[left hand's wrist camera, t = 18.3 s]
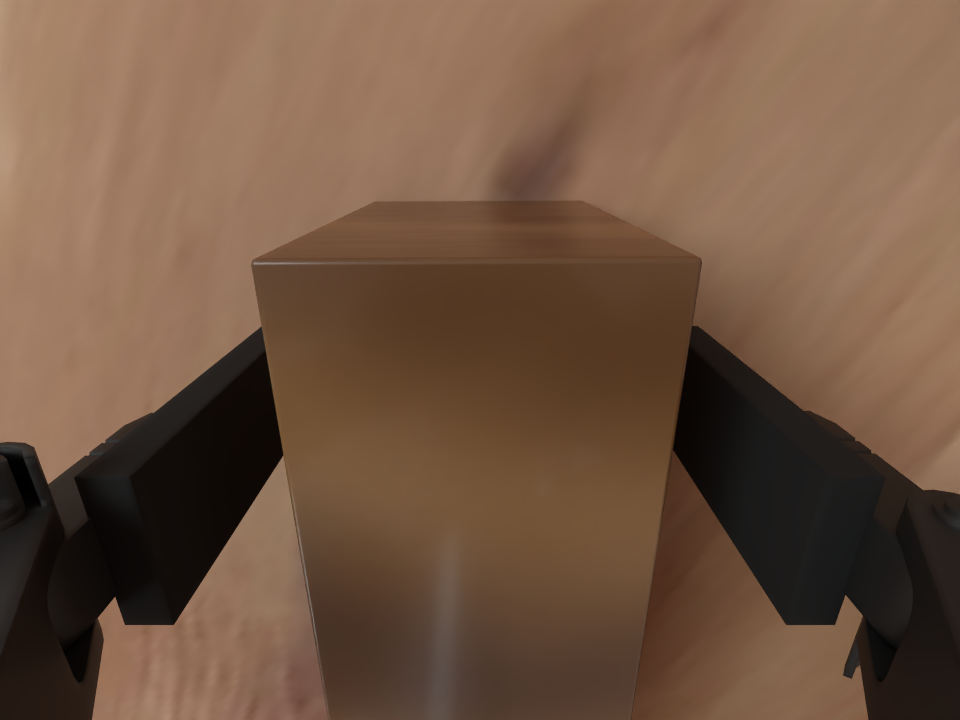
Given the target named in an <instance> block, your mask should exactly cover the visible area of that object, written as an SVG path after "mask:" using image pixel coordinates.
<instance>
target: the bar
mask: <svg viewBox="0 0 960 720" xmlns="http://www.w3.org/2000/svg"><path fill="white" fill-rule="evenodd" d="M701 265H702V261H701V258H699V257H697V256H695V255H693V254H691V253H689V252H687V251H685V250H683V249H681V248H679V247H677V246H674V245H672V244H670V243H668V242H666V241H664V240H662V239H660V238H658V237H656V236H654V235H652V234H650V233H647V232H645V231H643V230H641V229H639V228H637V227H635V226H633V225H631V224H629V223H627V222H625V221H623V220H620V219H618V218H616V217H614V216H612V215H610V214H608V213H606V212H604V211H602V210H600V209H598V208H596V207H593V206H591V205H589V204H587V203H585V202H583V201H453V202H373V203H371V204H369V205H367V206H365V207H363V208H361V209H359V210H357V211H354V212H352V213H350V214H348V215H346V216H344V217H342V218H340V219H338V220H336V221H333V222H331V223H329V224H327V225H325V226H323V227H321V228H319V229H317V230H315V231H312V232H310V233H308V234H306V235H304V236H302V237H300V238H298V239H296V240H294V241H291V242H289V243H287V244H285V245H283V246H281V247H279V248H277V249H275V250H273V251H270V252H268V253H266V254H264V255H262V256H260V257H258V258H256V259H254V260H252V264H251V266H252V272H253V278H254V284H255V289H256V295H257V301H258V307H259V313H260V319H261V325H262V331H263V337H264V343H265V348H266V354H267V360H268V366H269V372H270V378H271V384H272V390H273V396H274V402H275V408H276V413H277V419H278V425H279V431H280V437H281V443H282V449H283V455H284V461H285V467H286V472H287V478H288V484H289V490H290V496H291V502H292V508H293V514H294V520H295V526H296V532H297V537H298V543H299V549H300V555H301V561H302V567H303V573H304V579H305V585H306V591H307V597H308V602H309V608H310V614H311V620H312V626H313V632H314V638H315V644H316V650H317V656H318V661H319V667H320V673H321V679H322V685H323V691H324V697H325V703H326V709H327V715H328V720H631V715H632V708H633V702H634V695H635V689H636V683H637V676H638V670H639V663H640V657H641V650H642V644H643V638H644V631H645V625H646V618H647V612H648V605H649V599H650V593H651V586H652V580H653V573H654V567H655V560H656V554H657V548H658V541H659V535H660V528H661V522H662V515H663V509H664V503H665V496H666V490H667V483H668V477H669V470H670V464H671V458H672V451H673V445H674V438H675V432H676V425H677V419H678V413H679V406H680V400H681V393H682V387H683V380H684V374H685V368H686V361H687V355H688V348H689V342H690V335H691V329H692V323H693V316H694V310H695V303H696V297H697V290H698V284H699V278H700V271H701Z"/></svg>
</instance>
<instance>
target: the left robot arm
mask: <svg viewBox="0 0 960 720" xmlns="http://www.w3.org/2000/svg"><path fill="white" fill-rule="evenodd" d="M673 450H674V452H675V454H676V455H677V457H678V458H679V460H680V461H681V463H682V464H683V466H684V467H685V469H686V471H687V472H688V474H689V475H690V477H691V478H692V480H693V481H694V483H695V484H696V486H697V488H698V489H699V491H700V492H701V494H702V495H703V497H704V498H705V500H706V501H707V503H708V505H709V506H710V508H711V509H712V511H713V512H714V514H715V515H716V517H717V518H718V520H719V522H720V523H721V525H722V526H723V528H724V529H725V531H726V532H727V534H728V536H729V537H730V539H731V540H732V542H733V543H734V545H735V546H736V548H737V549H738V551H739V553H740V554H741V556H742V557H743V559H744V560H745V562H746V563H747V565H748V566H749V568H750V570H751V571H752V573H753V574H754V576H755V577H756V579H757V580H758V582H759V583H760V585H761V587H762V588H763V590H764V591H765V593H766V594H767V596H768V597H769V599H770V600H771V602H772V604H773V605H774V607H775V608H776V610H777V611H778V613H779V614H780V616H781V618H782V619H783V621H784V622H785V624H786V625H835V623H836V620H837V617H838V614H839V612H840V609H841V606H842V603H843V600H844V597H845V594H846V596H847V597H848V598H849V599H850V600H851V602H852V603H853V604H854V605H855V606H856V608H857V609H858V610H859V611H860V613H861V614H862V615H863V618H862V621H861V623H860V626H859V629H858V631H857V634H856V637H855V639H854V642H853V645H852V647H851V650H850V653H849V655H848V658H847V661H846V664H845V668H844V673H843V676H846V677H848V678H851V679H852V677H853V674H854V671H855V669H856V667H858V666H861V673H862V680H863V686H864V693H865V700H866V706H867V713H868V719H869V720H960V495H959V494H956V493H951V492H944V491H938V490H922V489H921V488H919V487H918V486H917V485H915V484H914V483H913V482H912V481H910V480H909V479H908V478H906V477H905V476H904V475H902V474H901V473H900V472H898V471H897V470H896V469H895V468H893V467H892V466H891V465H889V464H888V463H887V462H885V461H884V460H883V459H882V458H880V457H879V456H878V455H876V454H871V450H870V449H868V448H867V447H866V446H865V445H863V444H862V443H861V442H859V441H855V438H854V437H853V436H851V435H850V434H849V433H848V432H846V431H845V430H844V429H842V428H841V427H840V426H838V425H837V424H836V423H834V422H831V421H829V420H827V419H825V418H823V417H821V416H819V415H817V414H814V413H812V412H810V411H803V410H802V409H800V408H799V407H798V406H797V405H795V404H794V403H793V402H792V401H790V400H789V399H788V398H787V397H785V396H784V395H783V394H782V393H781V392H779V391H778V390H777V389H776V388H774V387H773V386H772V385H771V384H769V383H768V382H767V381H766V380H764V379H763V378H762V377H761V376H759V375H758V374H757V373H756V372H754V371H753V370H752V369H751V368H749V367H748V366H747V365H746V364H744V363H743V362H742V361H741V360H739V359H738V358H737V357H736V356H734V355H733V354H732V353H731V352H729V351H728V350H727V349H726V348H725V347H723V346H722V345H721V344H720V343H718V342H717V341H716V340H715V339H713V338H712V337H711V336H710V335H708V334H707V333H706V332H705V331H703V330H702V329H701V328H700V327H698V326H692V329H691V335H690V342H689V348H688V355H687V361H686V368H685V374H684V380H683V387H682V393H681V400H680V406H679V413H678V419H677V425H676V432H675V438H674V445H673ZM282 457H283V449H282V443H281V437H280V431H279V425H278V419H277V413H276V408H275V402H274V396H273V390H272V384H271V378H270V372H269V366H268V360H267V354H266V348H265V343H264V337H263V331H262V327H260V328H259V329H258V330H257V331H255V332H254V333H253V334H252V335H250V336H249V337H248V338H247V339H245V340H244V341H243V342H242V343H240V344H239V345H238V346H237V347H235V348H234V349H233V350H232V351H231V352H229V353H228V354H227V355H226V356H224V357H223V358H222V359H221V360H219V361H218V362H217V363H216V364H214V365H213V366H212V367H211V368H209V369H208V370H207V371H206V372H204V373H203V374H202V375H201V376H199V377H198V378H197V379H196V380H194V381H193V382H192V383H191V384H189V385H188V386H187V387H186V388H184V389H183V390H182V391H181V392H179V393H178V394H177V395H176V396H174V397H173V398H172V399H171V400H170V401H168V402H167V403H166V404H165V405H163V406H162V407H161V408H160V409H158V410H157V411H156V412H155V413H150V414H148V415H146V416H144V417H141V418H139V419H137V420H135V421H133V422H131V423H129V424H127V425H125V426H123V427H122V428H121V429H119V430H118V431H117V432H116V433H114V434H113V435H112V436H110V437H109V438H108V439H106V442H105V443H101V444H100V445H99V446H97V447H96V448H95V449H94V450H92V451H91V452H90V455H89V456H84V457H83V458H82V459H81V460H79V461H78V462H77V463H75V464H74V465H73V466H71V467H70V468H69V469H68V470H66V471H65V472H64V473H62V474H61V475H60V476H59V477H57V478H56V479H55V480H53V481H52V482H51V483H49V484H48V483H47V481H46V478H45V475H44V473H43V470H42V467H41V465H40V462H39V459H38V457H37V454H36V451H35V449H34V447H32V446H30V445H28V444H26V443H17V442H4V443H0V720H92V715H93V708H94V701H95V695H96V688H97V682H98V675H99V668H100V662H101V655H102V648H103V642H104V639H103V633H102V629H101V626H100V623H99V621H98V617H99V616H100V614H101V613H102V612H103V611H104V609H105V608H106V607H107V606H108V605H109V603H110V602H111V601H112V600H113V598H114V597H116V600H117V603H118V606H119V609H120V612H121V614H122V617H123V620H124V623H125V625H174V624H175V622H176V621H177V619H178V617H179V616H180V614H181V613H182V611H183V610H184V608H185V607H186V605H187V604H188V602H189V600H190V599H191V597H192V596H193V594H194V593H195V591H196V590H197V588H198V587H199V585H200V583H201V582H202V580H203V579H204V577H205V576H206V574H207V573H208V571H209V570H210V568H211V566H212V565H213V563H214V562H215V560H216V559H217V557H218V556H219V554H220V553H221V551H222V549H223V548H224V546H225V545H226V543H227V542H228V540H229V539H230V537H231V535H232V534H233V532H234V531H235V529H236V528H237V526H238V525H239V523H240V522H241V520H242V518H243V517H244V515H245V514H246V512H247V511H248V509H249V508H250V506H251V505H252V503H253V501H254V500H255V498H256V497H257V495H258V494H259V492H260V491H261V489H262V488H263V486H264V484H265V483H266V481H267V480H268V478H269V477H270V475H271V474H272V472H273V471H274V469H275V467H276V466H277V464H278V463H279V461H280V460H281V458H282Z"/></svg>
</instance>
